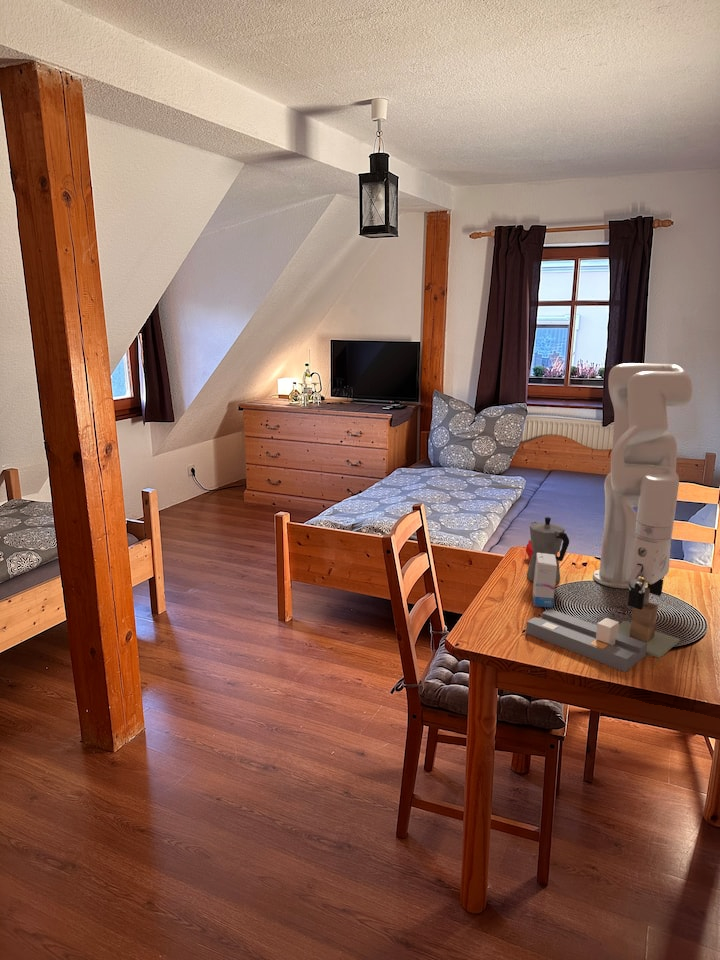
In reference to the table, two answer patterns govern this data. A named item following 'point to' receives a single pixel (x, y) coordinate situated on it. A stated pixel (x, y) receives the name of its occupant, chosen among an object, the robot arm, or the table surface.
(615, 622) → the switch tab
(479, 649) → the table surface
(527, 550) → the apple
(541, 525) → the coffeepot
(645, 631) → the brown block
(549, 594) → the ink box
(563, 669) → the table surface
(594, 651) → the switch panel
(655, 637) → the mat
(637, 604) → the robot arm
